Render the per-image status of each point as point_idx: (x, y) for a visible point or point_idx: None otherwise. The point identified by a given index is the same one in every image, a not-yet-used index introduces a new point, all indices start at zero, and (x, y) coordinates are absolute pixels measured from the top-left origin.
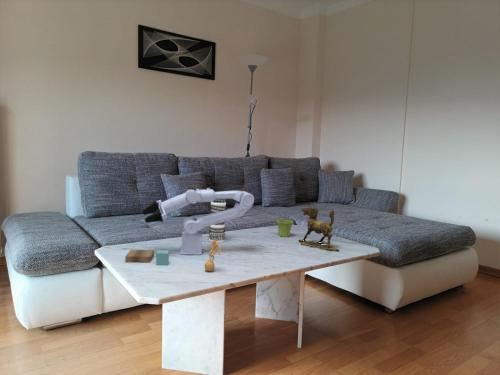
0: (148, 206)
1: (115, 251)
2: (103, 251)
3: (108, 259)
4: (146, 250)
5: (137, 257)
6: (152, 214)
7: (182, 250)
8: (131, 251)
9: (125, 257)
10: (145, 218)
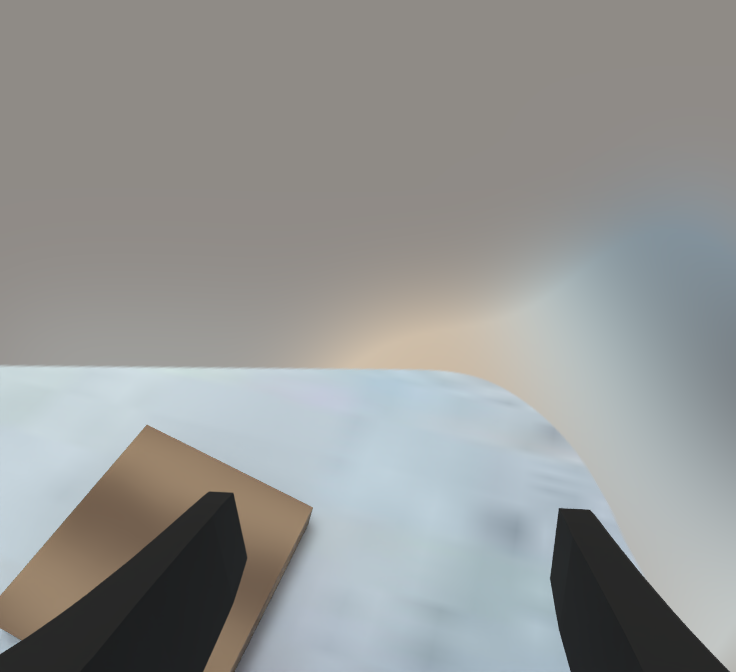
0: (688, 648)
1: (444, 452)
2: (460, 391)
3: (277, 377)
4: (222, 640)
5: (81, 506)
6: (72, 634)
7: None
8: (257, 498)
9: (148, 428)
10: (197, 503)
